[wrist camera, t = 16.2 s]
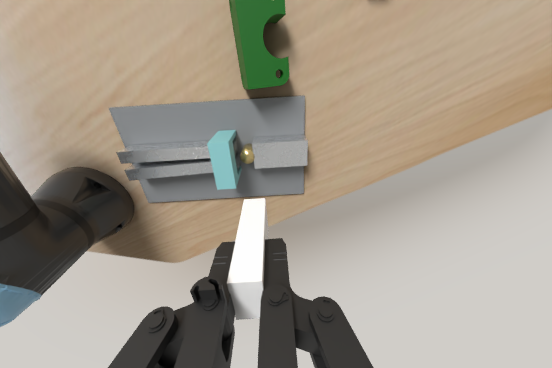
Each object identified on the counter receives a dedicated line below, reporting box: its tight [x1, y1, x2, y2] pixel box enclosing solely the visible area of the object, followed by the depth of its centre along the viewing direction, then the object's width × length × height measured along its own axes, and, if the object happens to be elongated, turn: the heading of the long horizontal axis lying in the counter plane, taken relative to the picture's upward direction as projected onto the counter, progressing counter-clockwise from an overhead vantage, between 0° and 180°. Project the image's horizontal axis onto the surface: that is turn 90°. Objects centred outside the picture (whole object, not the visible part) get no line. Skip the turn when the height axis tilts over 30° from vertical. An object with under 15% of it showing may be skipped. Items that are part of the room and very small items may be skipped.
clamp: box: [229, 0, 289, 90], centre depth 28 cm, size 12×6×9 cm, turn 0°
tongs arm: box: [125, 152, 240, 181], centre depth 36 cm, size 19×2×4 cm, turn 95°
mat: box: [109, 96, 305, 203], centre depth 38 cm, size 32×18×1 cm, turn 93°
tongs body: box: [116, 135, 308, 169], centre depth 36 cm, size 31×4×4 cm, turn 93°
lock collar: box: [207, 130, 242, 190], centre depth 34 cm, size 3×8×7 cm, turn 3°
